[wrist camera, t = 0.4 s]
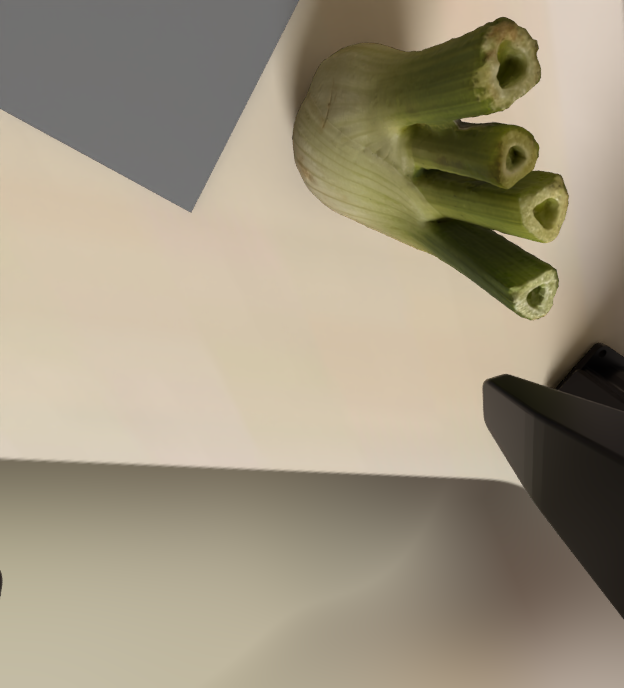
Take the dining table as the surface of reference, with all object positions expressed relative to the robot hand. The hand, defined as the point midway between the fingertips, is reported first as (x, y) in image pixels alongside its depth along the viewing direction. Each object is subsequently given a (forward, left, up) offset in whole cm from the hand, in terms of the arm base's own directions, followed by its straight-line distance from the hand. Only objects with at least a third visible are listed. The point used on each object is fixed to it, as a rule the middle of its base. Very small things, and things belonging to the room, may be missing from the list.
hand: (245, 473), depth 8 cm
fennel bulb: (-2, -7, -14) cm, 15 cm away
